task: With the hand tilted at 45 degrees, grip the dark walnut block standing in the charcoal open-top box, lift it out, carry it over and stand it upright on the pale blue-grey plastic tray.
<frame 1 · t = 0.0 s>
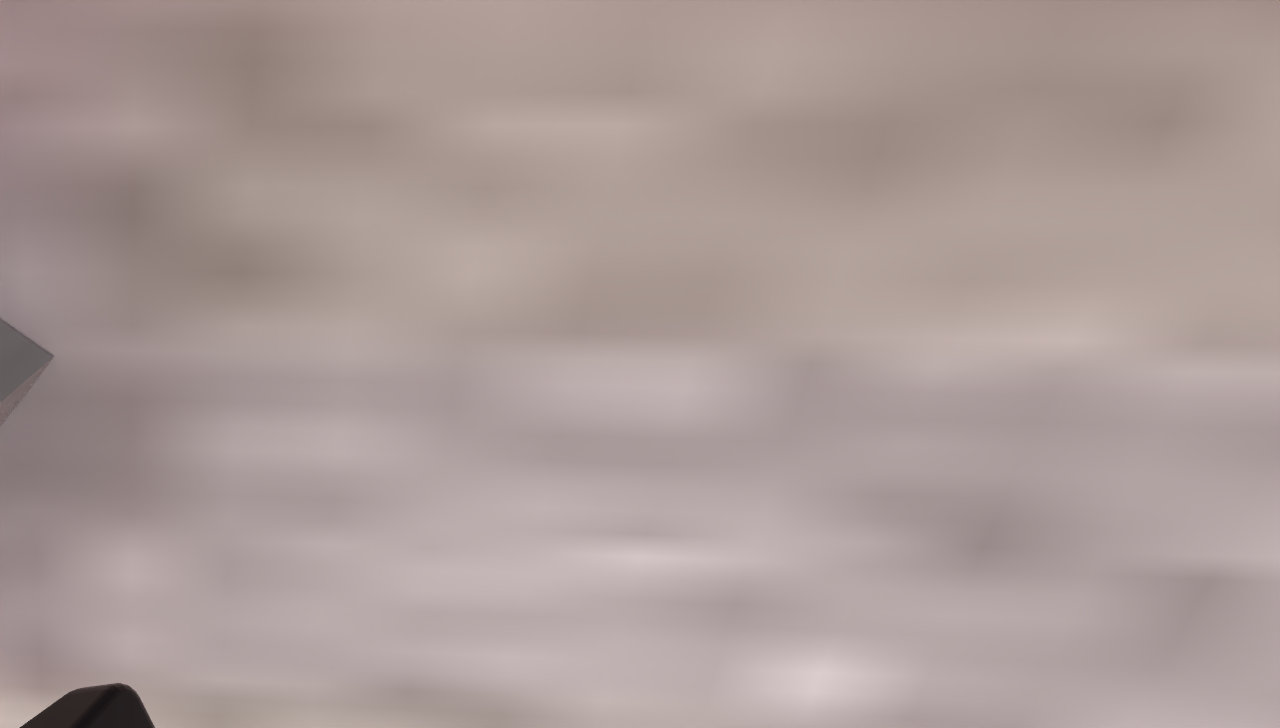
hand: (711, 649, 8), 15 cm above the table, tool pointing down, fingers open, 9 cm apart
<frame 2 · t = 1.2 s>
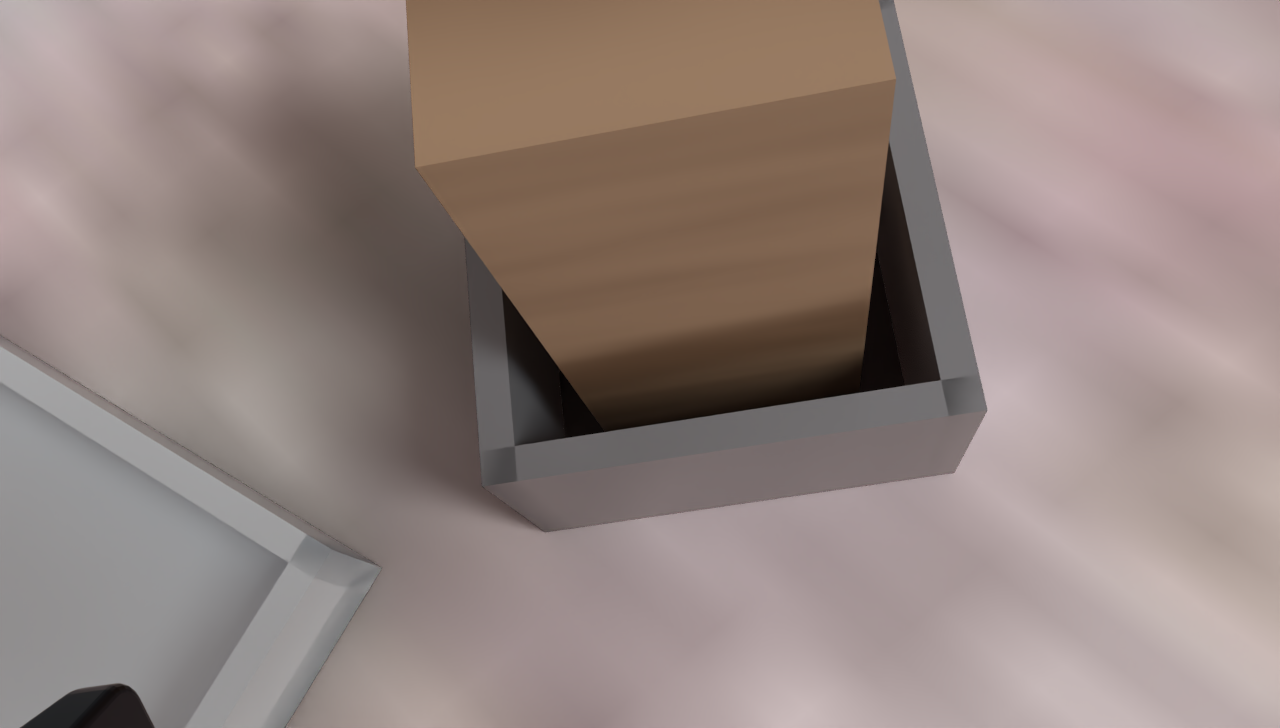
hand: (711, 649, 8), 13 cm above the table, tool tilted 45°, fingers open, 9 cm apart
walnut block: (685, 181, 18), in the charcoal open-top box
charcoal open-top box: (717, 312, 23), on the table
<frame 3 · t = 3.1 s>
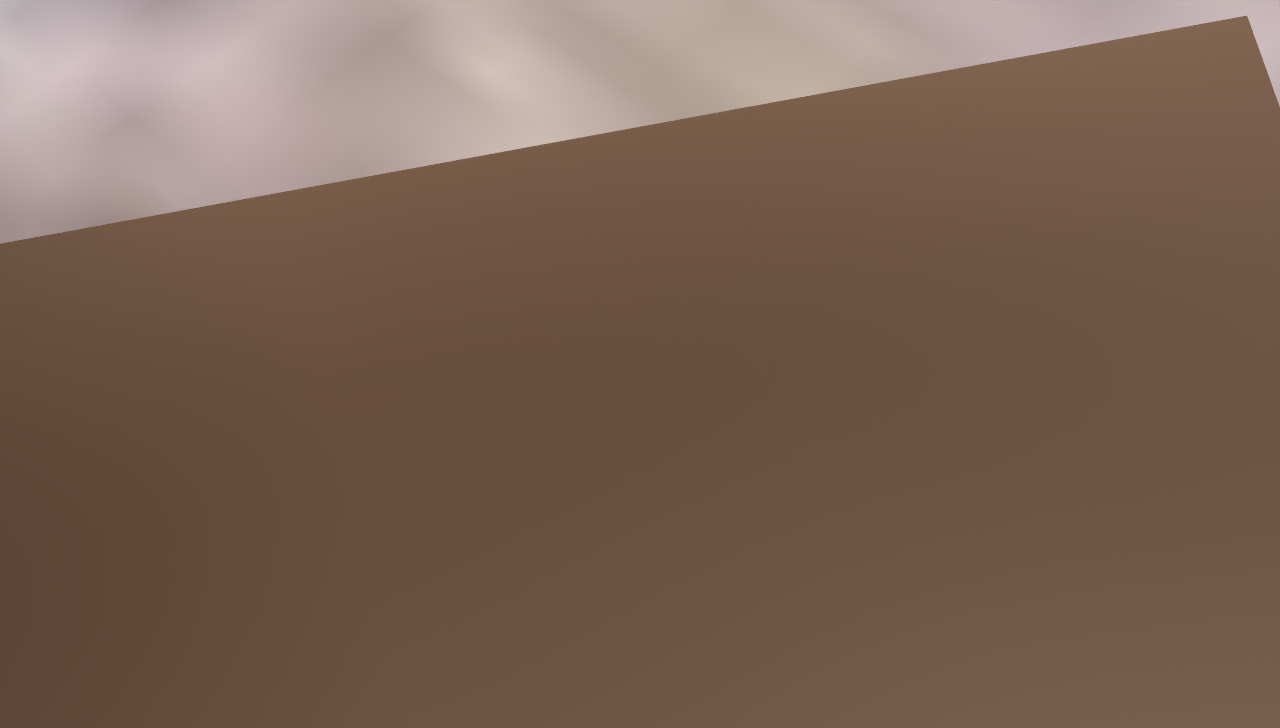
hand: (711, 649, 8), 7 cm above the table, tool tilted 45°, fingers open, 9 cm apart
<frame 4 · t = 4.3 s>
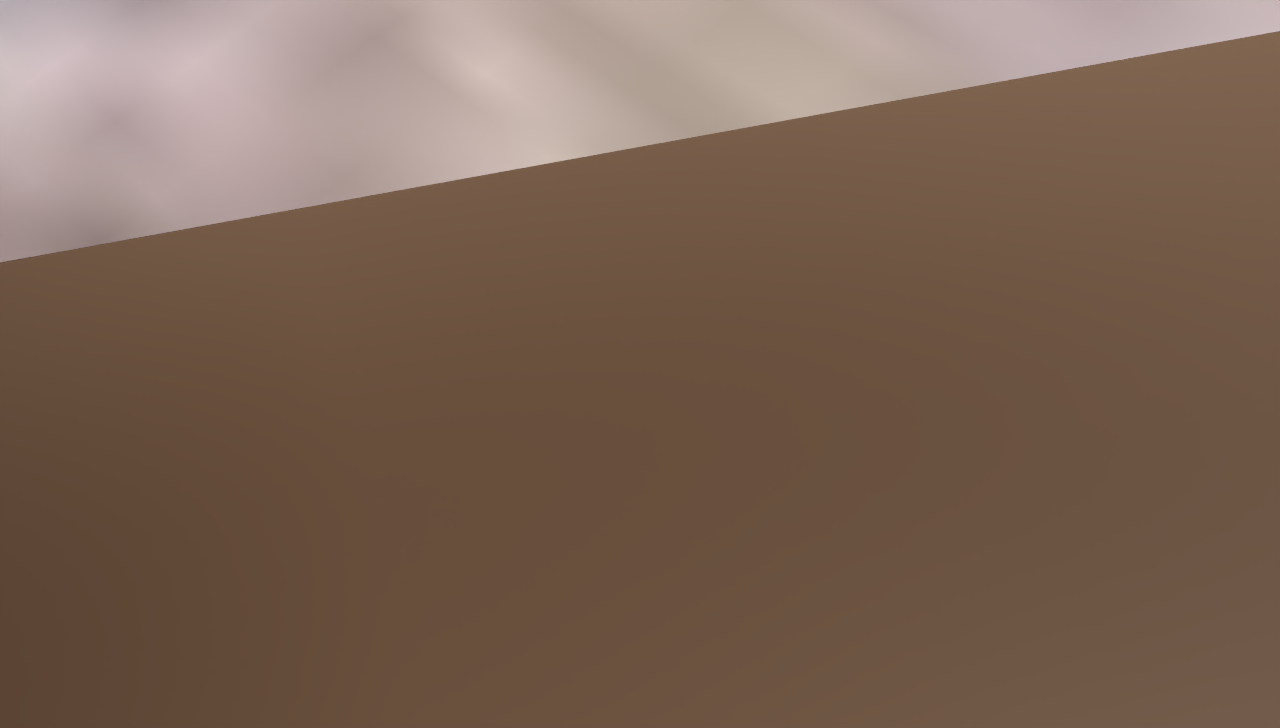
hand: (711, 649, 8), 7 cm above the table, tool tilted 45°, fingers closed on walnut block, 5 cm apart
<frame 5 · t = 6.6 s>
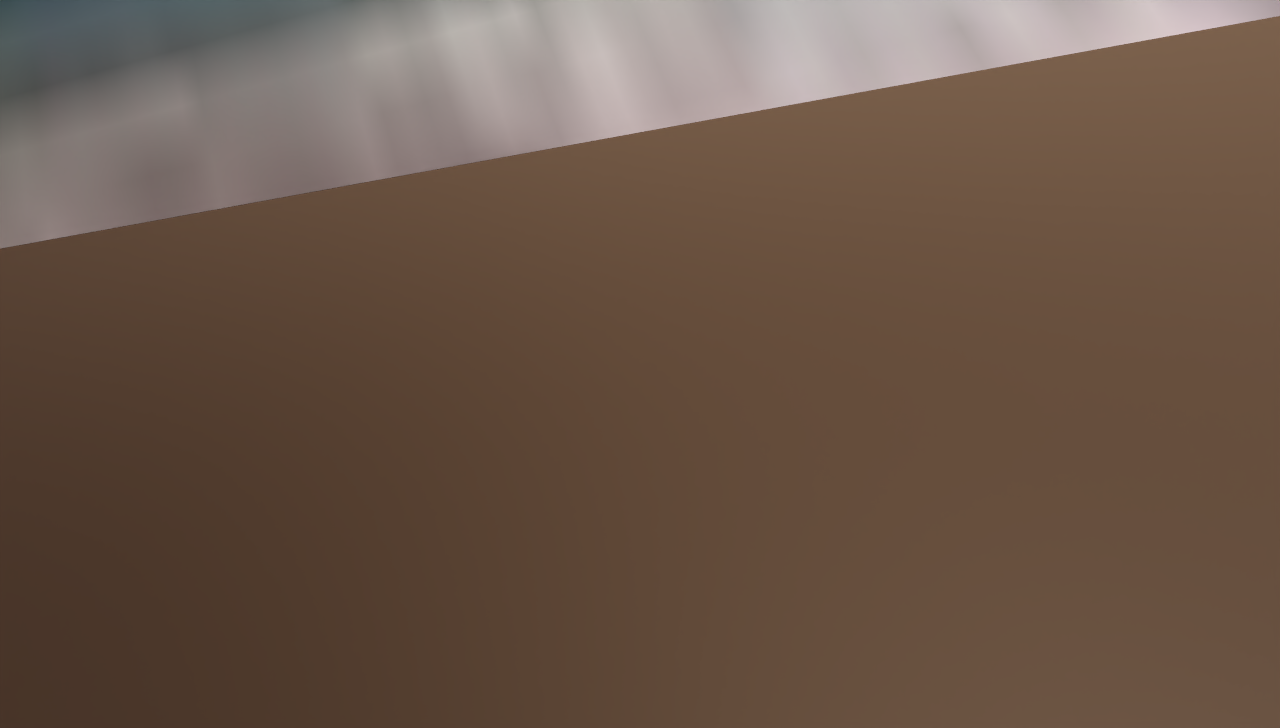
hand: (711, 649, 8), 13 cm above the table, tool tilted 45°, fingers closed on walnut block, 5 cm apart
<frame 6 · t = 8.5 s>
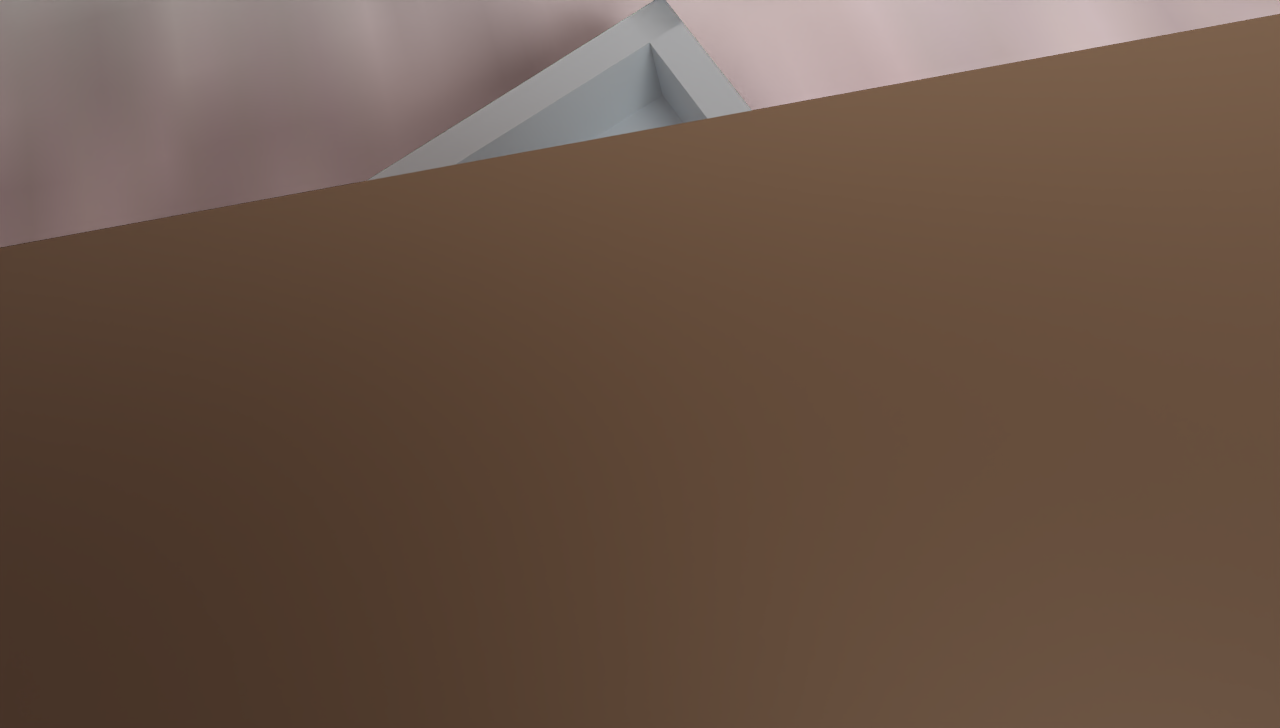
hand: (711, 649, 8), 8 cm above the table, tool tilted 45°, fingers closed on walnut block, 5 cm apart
when the fingers open (8 cm above the table, at t = 8.7 s): walnut block stays where it is, resting on plastic tray.
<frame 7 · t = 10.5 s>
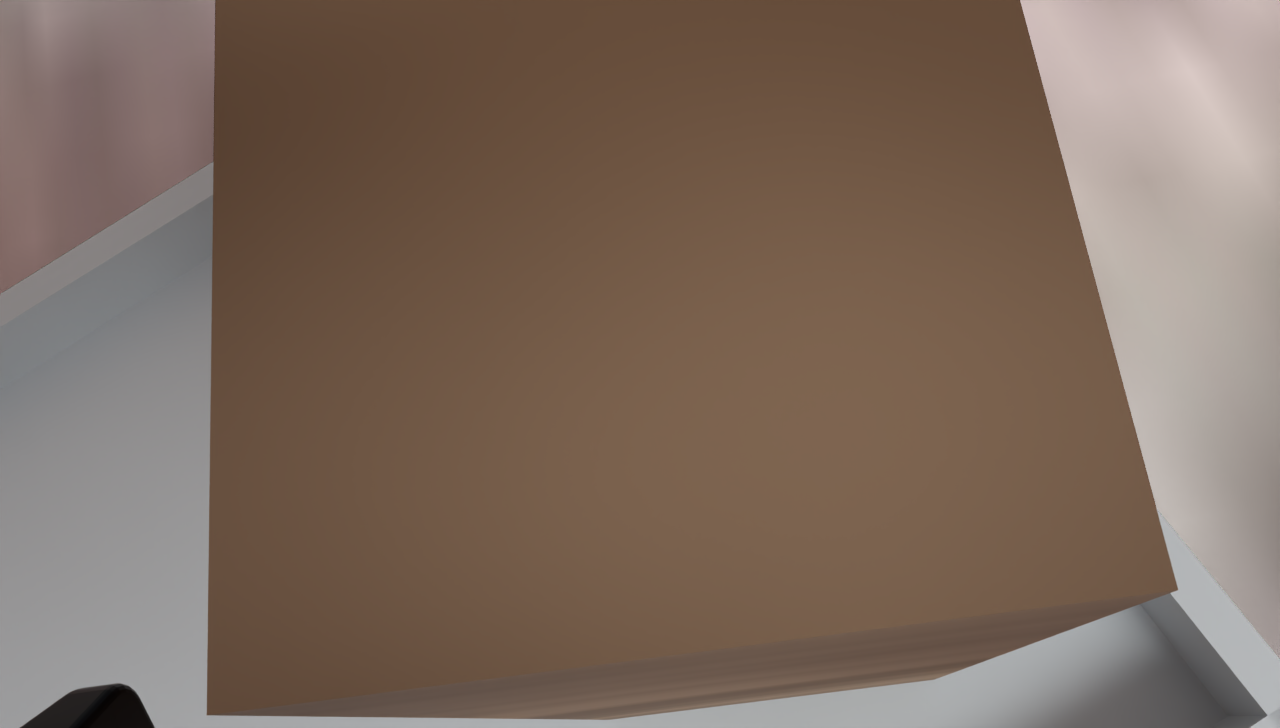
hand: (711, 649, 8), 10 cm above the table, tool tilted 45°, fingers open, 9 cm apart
plastic tray: (442, 608, 19), on the table
walnut block: (710, 451, 12), in the plastic tray, point 7 cm above the table
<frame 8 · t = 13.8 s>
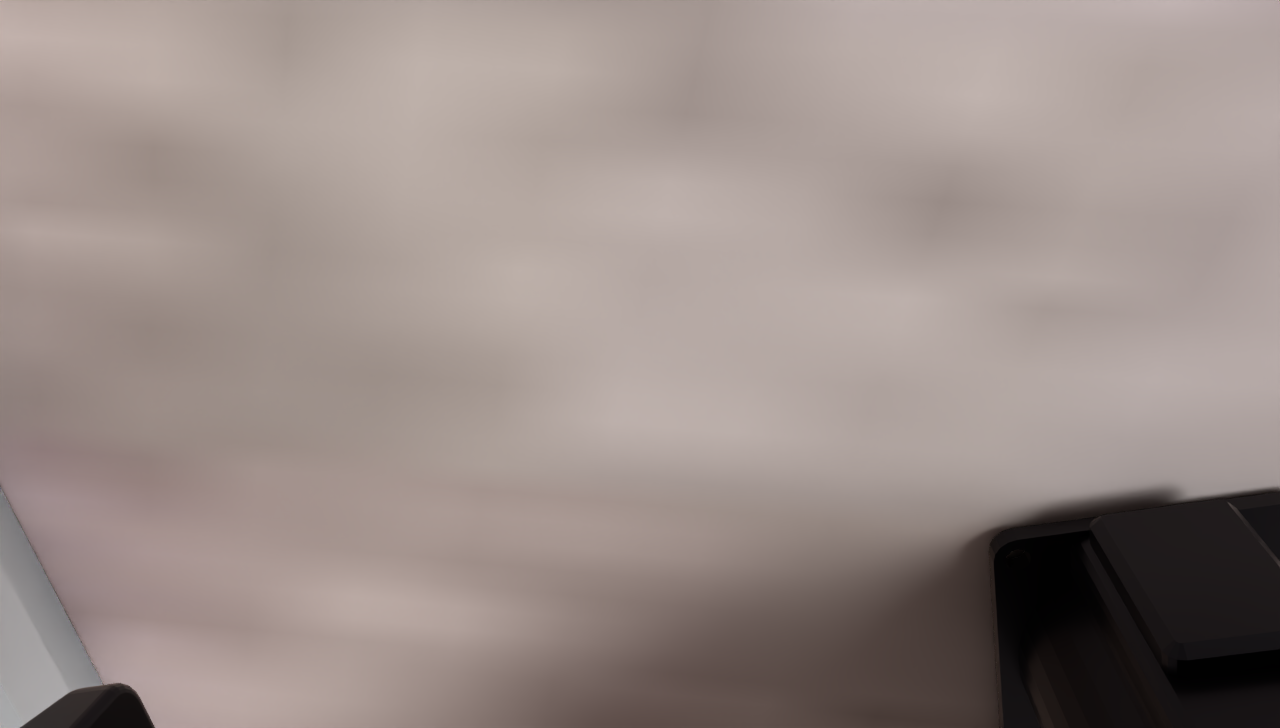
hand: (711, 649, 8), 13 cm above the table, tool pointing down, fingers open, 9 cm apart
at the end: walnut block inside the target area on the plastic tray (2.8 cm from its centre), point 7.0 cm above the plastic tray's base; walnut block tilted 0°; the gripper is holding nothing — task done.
